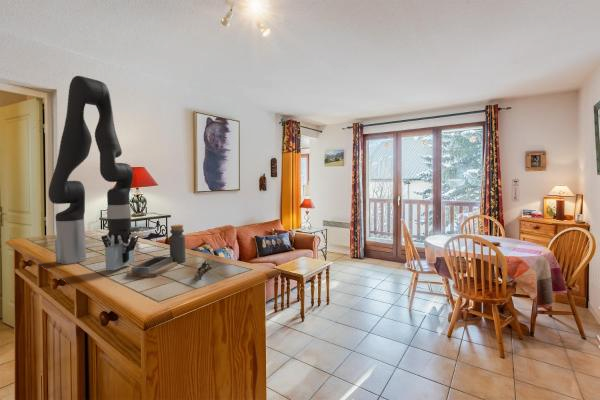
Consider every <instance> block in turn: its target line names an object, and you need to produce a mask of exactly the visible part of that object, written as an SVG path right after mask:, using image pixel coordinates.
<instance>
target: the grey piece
mask: <svg viewBox="0 0 600 400" xmlns="http://www.w3.org/2000/svg"><path fill="white" fill-rule="evenodd" d="M177 266H178V264H177V262H172V257H170V256H160V255H159V256H154V257H151V259H148V260H145V261H143V262H141V263H139V264H136V265H134V266H132V267H131V270H130V271H127V272H126V277H147V278H157V277H159V276H160V275H162V274H164V273H166V272H168V271H170V270H172V269H174V268H175V267H177Z"/></svg>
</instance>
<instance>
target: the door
mask: <svg viewBox="0 0 600 400" xmlns="http://www.w3.org/2000/svg"><path fill="white" fill-rule="evenodd" d="M129 243H130V241H129ZM124 244H125V243H124ZM104 253H105V254H104V255H105V256H104V257H105V270H106V271H116V270H118V269H121V268H123V267H125V266H127V265H130V264H132V263H135V249H134V250H132V251H129V260H128V262H126V263H123V259H122V253H123V252H122V247H121V246H120V244H117V245H114V246H110V247H106V248H105V247H104Z"/></svg>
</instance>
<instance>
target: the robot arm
mask: <svg viewBox="0 0 600 400" xmlns="http://www.w3.org/2000/svg"><path fill="white" fill-rule="evenodd" d="M67 96H68V97H67V107H66V116H65V120H64V121H65V122H64V125H63V131H62V134H61V139H60V144H59V149H58V155H57V161H56V164H55V168H54V172H53V174H52V175H51V176H52V177H51V180H50V184H49V185H48V186H49V188H48V193H47V194H48V199H49V201H50V203H52V204H54V205H55V204H56V205H64V204H69V206H68V207H67V208H66V209H64V210H62V211H60V212H57V213H56V214H55V229H56V238H55V239H54V251H55V253H54V254H55V263H56V262H58V264H59V263H61V264H60V265H69V264H76V263H80V262H84V261H86V260H87V248H86V246H87V245H86V230H85V229H86V228H85V212H86V207H85V206H86V192H85V191H86V189H85V187H84V184H83V183H82V181H79V180H68V179H69V177H70V175H71V174H72V173H73V172H74V170H75V169H76V168H78V167H79V166H80V165H81V164H82V163H83V162H84V161H85V160H86V159H87V158H88V156H89V154H90V151H91V146H92V142H93V139H92V135H91V132H90V130H89V128H88V126H87V124H86V120H85V106H86V105H90V106H91V105H92V106H95V107H96V109H97V111H98V115H99V116H98V120H97V124H96V126H95V131H94V139H95V140H94V141H95V143H96V146H97V150H98V153H99V171H100V175H101V177H102V178H103V179H104V181H106V182H109V183H115V186H114V187H113V188H110V189H108V191H107V195H106V197H107V199H106V200H107V201H106V202H107V209H106V215H107V216H106V217H107V219H106V224H107V230H108V233H107V234H104V235H101V237H100V238H101V241H102V242H103V245H104V249H105V248H106V247H110V246H114V245H117V244H120V246H121V247H122V252H123V253H122V259H123V263H126V262H128V260H129V251H132V250H134V251H135V248H136V246H137V242H138V239H139V236H138V235H134V234H132V231H131V228H132V217H131V216H132V215H131V206H130V191H131V188H132V185H133V181H134V169H133V167H132V166H131V165H130V164H128V163H125V162H116V158H119V157H120V156H122V153H123V152H122V151H123V150H122V147H121V145H120V141H119V139H118V135H117V132H116V128H115V123H114V122H115V121H114V113H113V106H112V101H111V94H110V90H109V88H108V86H107V84H106V83H105V82H103V81H101V80H97V79H94V78H89V77H87V76H82V75H75V76H74V77H72V79H71V81H70V83H69V87H68V95H67ZM129 242H130V243H129ZM124 243H125V244H124Z"/></svg>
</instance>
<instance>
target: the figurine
mask: <svg viewBox="0 0 600 400" xmlns="http://www.w3.org/2000/svg"><path fill="white" fill-rule="evenodd" d="M210 265H211V263H210V262H208V261H206V260H204V262H203V263H201V264H200V266H199V267H198V269H197V270H196V273H195V275H196V276H198V277H199V281H202V276H203V274H204V273H203V271H204V270H207V269H212V265H211V266H210Z"/></svg>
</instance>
